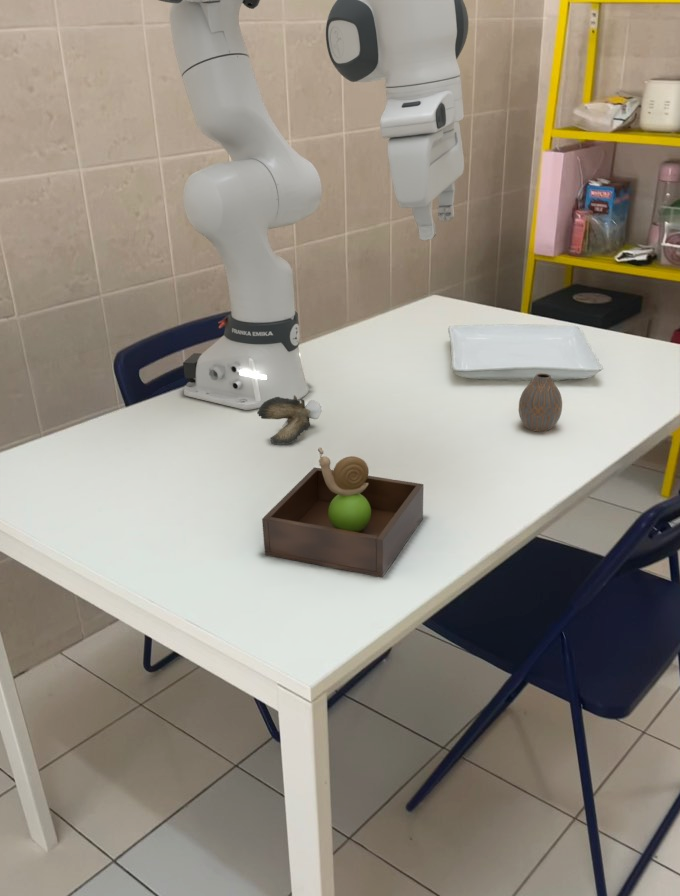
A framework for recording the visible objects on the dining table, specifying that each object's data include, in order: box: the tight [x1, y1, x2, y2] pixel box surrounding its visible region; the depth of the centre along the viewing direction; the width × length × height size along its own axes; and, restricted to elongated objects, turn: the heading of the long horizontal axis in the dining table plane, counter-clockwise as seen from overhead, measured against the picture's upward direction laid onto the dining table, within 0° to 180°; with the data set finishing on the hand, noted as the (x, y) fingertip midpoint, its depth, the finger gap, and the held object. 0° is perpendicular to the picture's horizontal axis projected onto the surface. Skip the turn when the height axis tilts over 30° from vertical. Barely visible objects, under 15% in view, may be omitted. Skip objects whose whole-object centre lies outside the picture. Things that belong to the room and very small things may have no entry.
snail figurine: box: [317, 447, 371, 532], centre depth 109 cm, size 5×6×12 cm
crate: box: [261, 466, 425, 578], centre depth 111 cm, size 16×16×5 cm
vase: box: [518, 373, 563, 432], centre depth 141 cm, size 7×7×9 cm
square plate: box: [447, 323, 604, 381], centre depth 170 cm, size 27×27×4 cm
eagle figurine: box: [257, 395, 323, 446], centre depth 140 cm, size 8×7×9 cm
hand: (437, 229), depth 110 cm, fingers open, 8 cm apart
